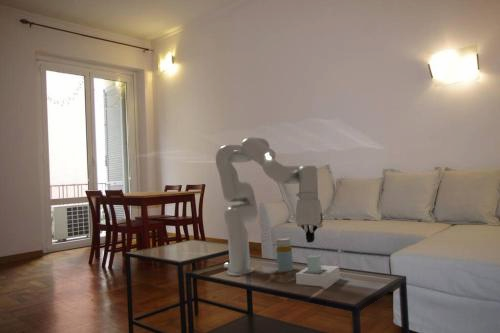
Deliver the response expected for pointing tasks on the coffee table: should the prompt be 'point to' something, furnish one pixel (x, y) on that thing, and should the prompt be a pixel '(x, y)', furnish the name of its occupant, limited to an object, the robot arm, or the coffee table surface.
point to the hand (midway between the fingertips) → (310, 241)
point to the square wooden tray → (280, 277)
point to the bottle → (284, 255)
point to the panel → (319, 277)
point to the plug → (314, 264)
